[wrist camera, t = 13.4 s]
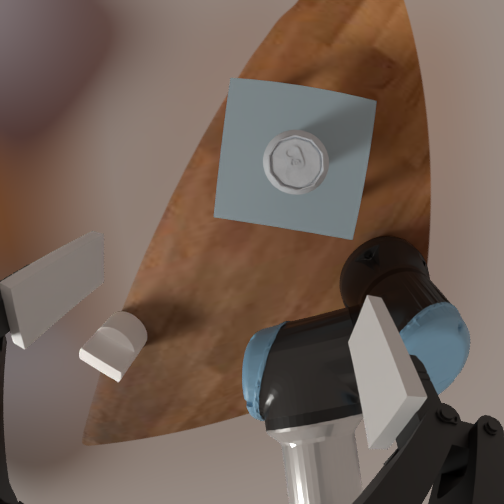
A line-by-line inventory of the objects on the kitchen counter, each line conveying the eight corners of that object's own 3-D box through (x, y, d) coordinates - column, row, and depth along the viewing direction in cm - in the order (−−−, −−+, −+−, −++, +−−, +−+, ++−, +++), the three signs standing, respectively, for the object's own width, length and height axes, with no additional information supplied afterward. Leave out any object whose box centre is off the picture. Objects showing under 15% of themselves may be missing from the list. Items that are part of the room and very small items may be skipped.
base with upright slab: (152, 325, 56) (125, 362, 45) (142, 354, 60) (117, 391, 48) (113, 303, 56) (81, 335, 45) (106, 334, 59) (78, 367, 48)
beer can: (281, 185, 33) (276, 206, 22) (265, 144, 32) (251, 143, 20) (323, 170, 32) (340, 184, 21) (307, 129, 30) (316, 119, 19)
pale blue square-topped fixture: (355, 112, 40) (376, 101, 28) (337, 216, 45) (352, 240, 34) (246, 94, 41) (230, 77, 30) (233, 199, 46) (213, 217, 35)
